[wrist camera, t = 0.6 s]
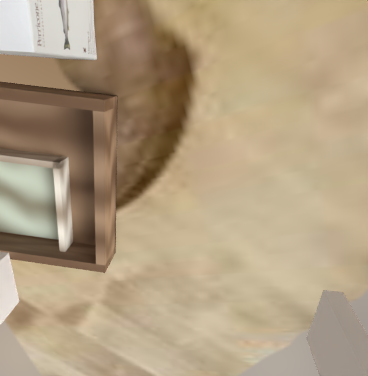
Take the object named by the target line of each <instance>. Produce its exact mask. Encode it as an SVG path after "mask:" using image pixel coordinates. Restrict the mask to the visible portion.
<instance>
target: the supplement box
mask: <svg viewBox="0 0 368 376" xmlns="http://www.w3.org/2000/svg"><path fill="white" fill-rule="evenodd" d="M0 54H7V55H20V56H35V57H46V58H59V59H80V60H96V59H97V54H96V44H95V30H94V9H93V0H0Z"/></svg>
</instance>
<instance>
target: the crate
mask: <svg viewBox="0 0 368 376" xmlns="http://www.w3.org/2000/svg"><path fill="white" fill-rule="evenodd" d="M117 104H118V96H113V95H105V94H97V93H89V92H80V91H72V90H64V89H56V88H47V87H39V86H31V85H23V84H15V83H6V82H0V252H6V253H9V256H10V259H14V260H21V261H28V262H35V263H42V264H49V265H55V266H62V267H69V268H76V269H83V270H90V271H97V272H104V273H105V272H106V270H107V268H108V266H109V264H110V262H111V260H112V258H113V256H114V254H115V247H116V175H117Z"/></svg>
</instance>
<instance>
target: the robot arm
mask: <svg viewBox="0 0 368 376" xmlns="http://www.w3.org/2000/svg"><path fill="white" fill-rule="evenodd" d="M18 302H19V298H18V294H17V289H16V284H15V280H14V275H13V270H12V266H11V261H10V256H9V253H6V252H0V324H1V323H2V322H3V321H4V320H5V318H6V317H7V316H8V315H9V313H10V312H11V311H12V310H13V308H14V307H15V306H16V305H17V304H18ZM307 341H308V344H309V346H310V349H311V352H312V355H313V358H314V361H315V364H316V367H317V369H318V372H319V375H320V376H368V335H367V333H366V331H365V329H364V328H363V326H362V325H361V323H360V321H359V319H358V317H357V316H356V314H355V312H354V311H353V309H352V307H351V305H350V304H349V302H348V300H347V298H346V297H345V295H344V293H343V292H335V291H327V290H323V293H322V296H321V299H320V302H319V304H318V307H317V310H316V313H315V316H314V318H313V321H312V324H311V327H310V330H309V332H308V335H307Z"/></svg>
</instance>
